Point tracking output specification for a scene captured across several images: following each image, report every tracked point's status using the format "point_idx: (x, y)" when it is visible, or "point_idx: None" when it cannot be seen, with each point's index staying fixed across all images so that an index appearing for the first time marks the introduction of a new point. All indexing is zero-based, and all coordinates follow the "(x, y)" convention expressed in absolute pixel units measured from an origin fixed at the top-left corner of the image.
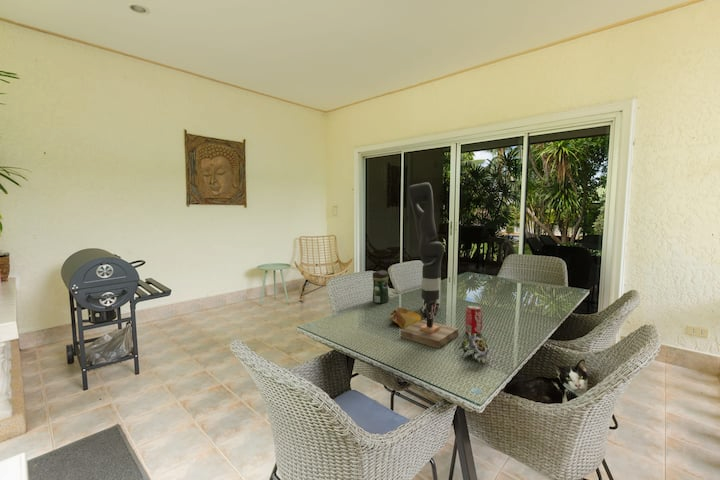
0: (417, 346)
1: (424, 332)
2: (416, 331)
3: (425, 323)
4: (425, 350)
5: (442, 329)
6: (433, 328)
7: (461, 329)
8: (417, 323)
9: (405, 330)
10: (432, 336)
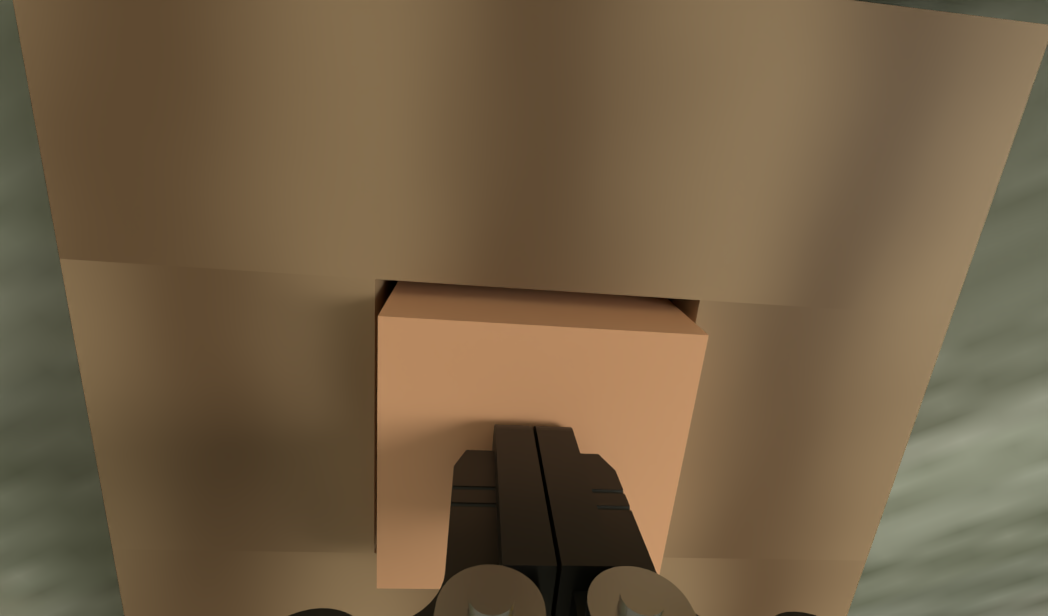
0: (23, 404)
1: (313, 423)
2: (244, 271)
3: (824, 210)
4: (5, 541)
5: None
6: None
7: (980, 585)
8: (740, 44)
9: (93, 9)
10: (243, 598)
